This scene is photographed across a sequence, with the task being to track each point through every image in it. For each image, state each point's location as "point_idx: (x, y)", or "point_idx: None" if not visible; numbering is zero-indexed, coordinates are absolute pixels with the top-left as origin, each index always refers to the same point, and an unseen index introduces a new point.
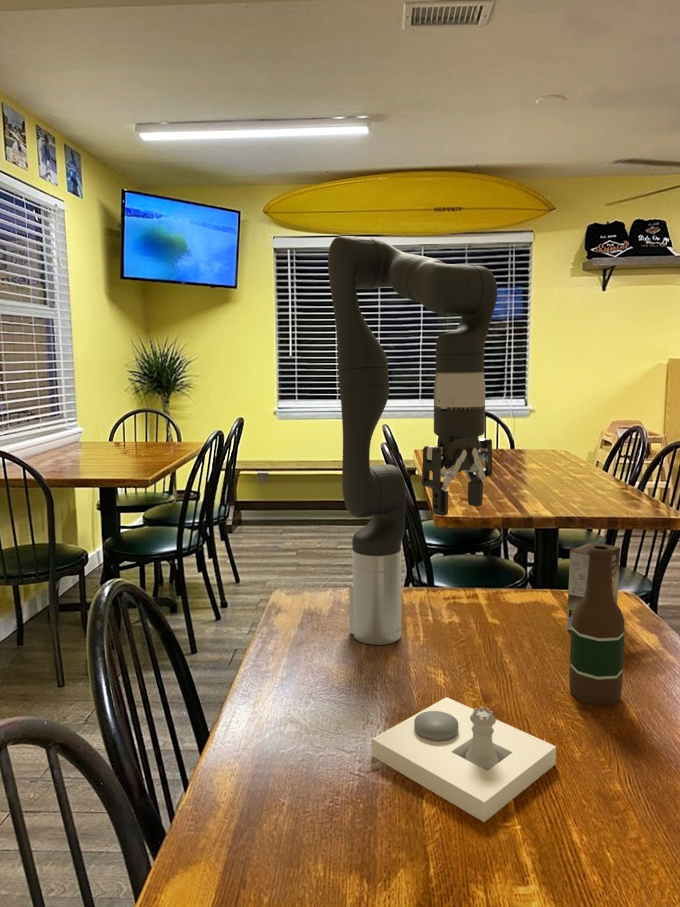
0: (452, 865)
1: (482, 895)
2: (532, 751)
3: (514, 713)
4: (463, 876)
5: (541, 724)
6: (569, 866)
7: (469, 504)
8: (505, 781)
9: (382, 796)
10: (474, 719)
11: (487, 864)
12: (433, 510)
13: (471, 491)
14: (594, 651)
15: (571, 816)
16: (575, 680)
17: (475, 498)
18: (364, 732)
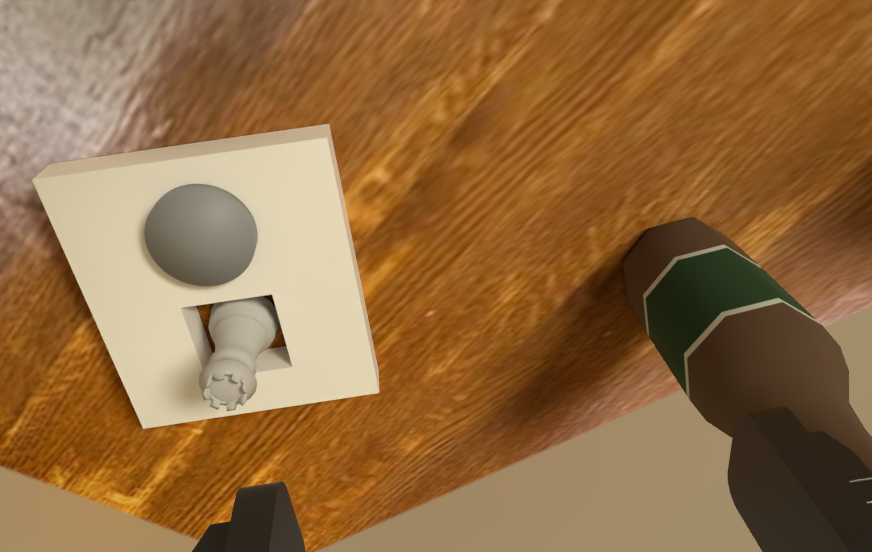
0: (50, 436)
1: (60, 483)
2: (328, 381)
3: (464, 218)
4: (54, 455)
5: (472, 277)
6: (206, 500)
7: (739, 417)
8: (214, 412)
9: (12, 276)
10: (202, 384)
11: (101, 455)
12: (208, 533)
13: (803, 535)
14: (672, 367)
15: (289, 452)
16: (642, 273)
17: (763, 515)
18: (77, 69)
